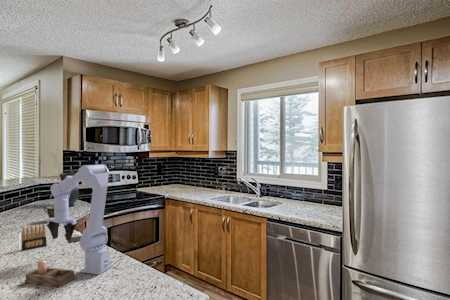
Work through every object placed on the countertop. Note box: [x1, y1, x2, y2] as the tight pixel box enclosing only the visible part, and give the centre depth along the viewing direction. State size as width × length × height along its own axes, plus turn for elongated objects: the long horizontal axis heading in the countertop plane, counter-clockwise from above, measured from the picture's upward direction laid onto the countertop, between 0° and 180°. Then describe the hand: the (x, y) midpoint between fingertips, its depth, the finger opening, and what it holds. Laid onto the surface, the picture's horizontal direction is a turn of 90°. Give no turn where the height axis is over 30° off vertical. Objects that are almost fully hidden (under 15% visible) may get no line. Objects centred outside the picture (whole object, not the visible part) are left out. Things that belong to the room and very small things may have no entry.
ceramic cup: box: [43, 205, 55, 218], centre depth 204 cm, size 13×10×10 cm
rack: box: [24, 266, 76, 288], centre depth 115 cm, size 16×8×3 cm, turn 75°
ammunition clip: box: [21, 222, 47, 252], centre depth 151 cm, size 11×2×12 cm, turn 130°
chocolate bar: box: [64, 230, 83, 244], centre depth 169 cm, size 9×1×18 cm
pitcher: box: [58, 170, 80, 208], centre depth 256 cm, size 17×21×30 cm
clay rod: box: [36, 259, 47, 275], centre depth 116 cm, size 3×3×6 cm
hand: (62, 239), depth 136 cm, fingers open, 7 cm apart
